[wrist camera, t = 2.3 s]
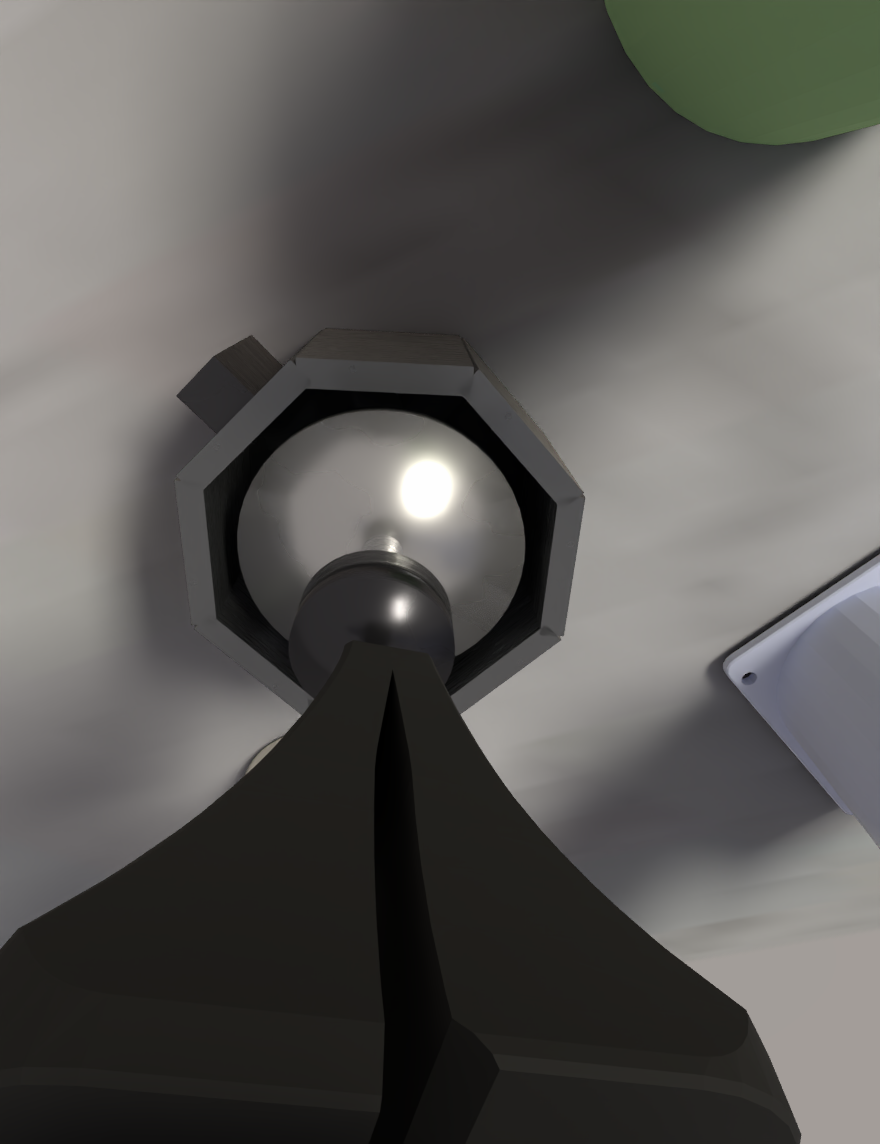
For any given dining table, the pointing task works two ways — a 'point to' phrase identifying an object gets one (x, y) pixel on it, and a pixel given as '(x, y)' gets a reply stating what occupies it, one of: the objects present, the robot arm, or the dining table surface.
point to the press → (352, 381)
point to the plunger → (379, 539)
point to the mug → (758, 63)
